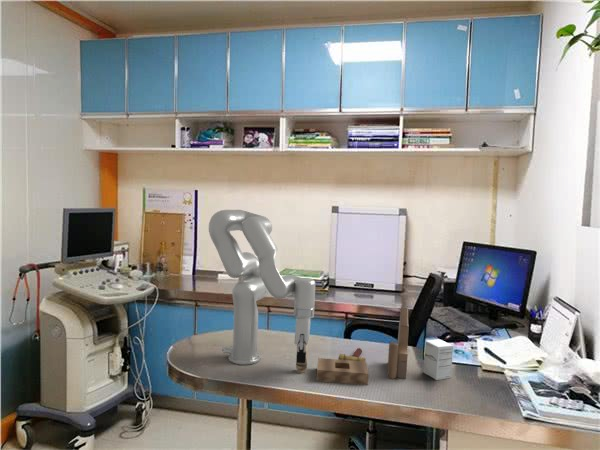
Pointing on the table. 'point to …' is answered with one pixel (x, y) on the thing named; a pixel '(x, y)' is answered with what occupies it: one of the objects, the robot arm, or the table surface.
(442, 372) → the supplement box
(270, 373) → the table surface
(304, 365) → the wooden pepper mill
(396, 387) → the table surface
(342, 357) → the gavel
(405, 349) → the wooden toy
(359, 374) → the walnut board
